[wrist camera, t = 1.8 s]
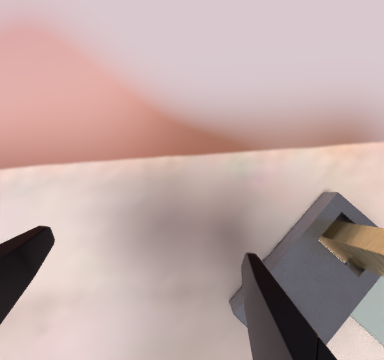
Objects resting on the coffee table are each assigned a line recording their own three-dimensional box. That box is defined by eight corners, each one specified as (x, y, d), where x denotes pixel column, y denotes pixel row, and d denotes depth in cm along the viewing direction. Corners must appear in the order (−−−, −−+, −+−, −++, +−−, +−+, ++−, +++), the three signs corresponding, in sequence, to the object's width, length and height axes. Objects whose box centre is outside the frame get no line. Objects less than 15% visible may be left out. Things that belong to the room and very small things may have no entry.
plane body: (287, 357, 22) (318, 410, 17) (229, 301, 23) (240, 334, 17) (380, 243, 23) (438, 257, 18) (322, 192, 24) (361, 191, 18)
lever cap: (341, 259, 23) (444, 301, 14) (312, 233, 23) (393, 257, 14) (356, 240, 23) (468, 269, 14) (328, 215, 24) (418, 226, 14)
